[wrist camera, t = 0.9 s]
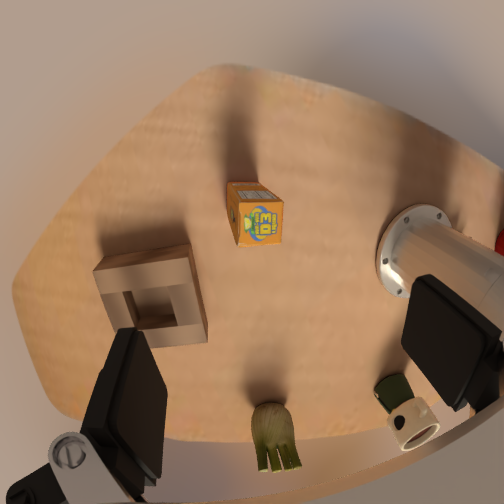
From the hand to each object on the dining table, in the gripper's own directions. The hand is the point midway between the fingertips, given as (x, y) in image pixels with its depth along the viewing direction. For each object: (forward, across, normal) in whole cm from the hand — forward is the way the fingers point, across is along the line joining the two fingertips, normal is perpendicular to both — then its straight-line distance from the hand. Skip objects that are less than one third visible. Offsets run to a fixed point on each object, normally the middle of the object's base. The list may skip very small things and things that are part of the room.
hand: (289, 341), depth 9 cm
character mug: (+21, -22, +34) cm, 45 cm away
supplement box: (+21, -1, 0) cm, 21 cm away
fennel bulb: (+21, -1, +32) cm, 38 cm away
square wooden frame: (+22, +10, +9) cm, 25 cm away
